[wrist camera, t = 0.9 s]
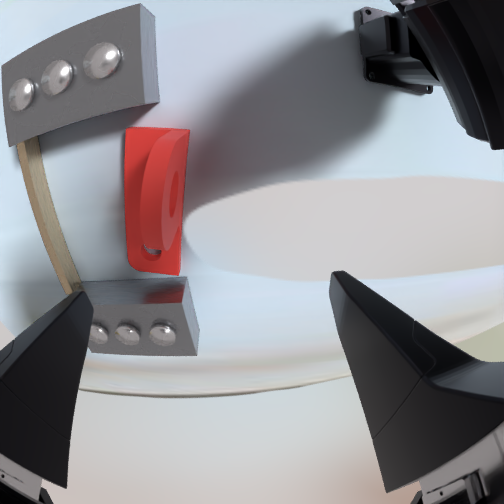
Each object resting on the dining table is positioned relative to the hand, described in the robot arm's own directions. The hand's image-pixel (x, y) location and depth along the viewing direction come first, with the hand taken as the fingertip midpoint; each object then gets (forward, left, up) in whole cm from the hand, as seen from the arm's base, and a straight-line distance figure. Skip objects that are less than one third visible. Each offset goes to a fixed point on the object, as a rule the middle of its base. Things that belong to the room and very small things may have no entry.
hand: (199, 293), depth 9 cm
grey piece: (+10, +1, -13) cm, 16 cm away
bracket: (+5, +2, -13) cm, 14 cm away
